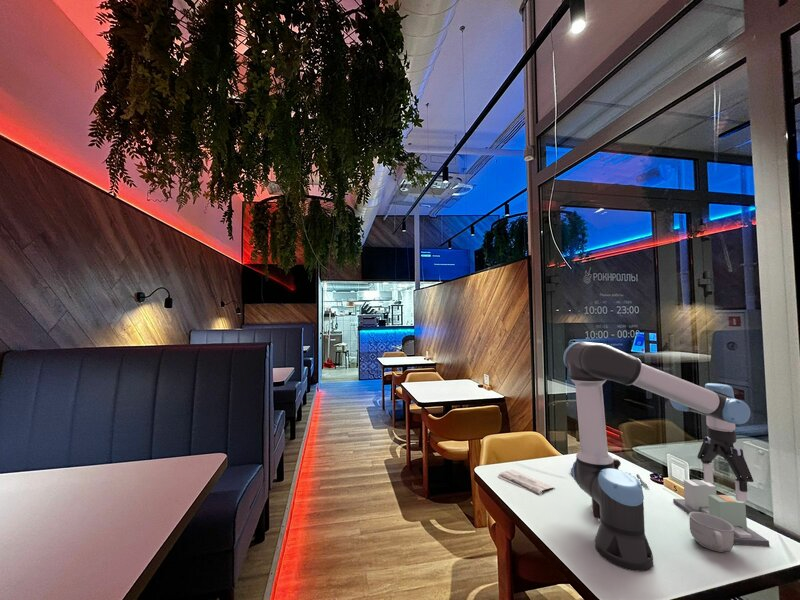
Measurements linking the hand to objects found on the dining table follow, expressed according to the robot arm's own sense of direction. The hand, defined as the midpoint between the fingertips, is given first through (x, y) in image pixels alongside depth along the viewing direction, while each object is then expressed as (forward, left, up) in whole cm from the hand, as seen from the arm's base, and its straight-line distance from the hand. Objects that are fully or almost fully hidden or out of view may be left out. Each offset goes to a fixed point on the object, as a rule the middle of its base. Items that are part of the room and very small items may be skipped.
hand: (724, 490), depth 120 cm
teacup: (-13, -11, -13) cm, 21 cm away
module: (0, 0, -12) cm, 12 cm away
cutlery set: (-21, +38, -14) cm, 46 cm away
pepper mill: (-35, +9, -13) cm, 38 cm away
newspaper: (-60, +30, -14) cm, 69 cm away
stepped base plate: (0, +5, -13) cm, 14 cm away
